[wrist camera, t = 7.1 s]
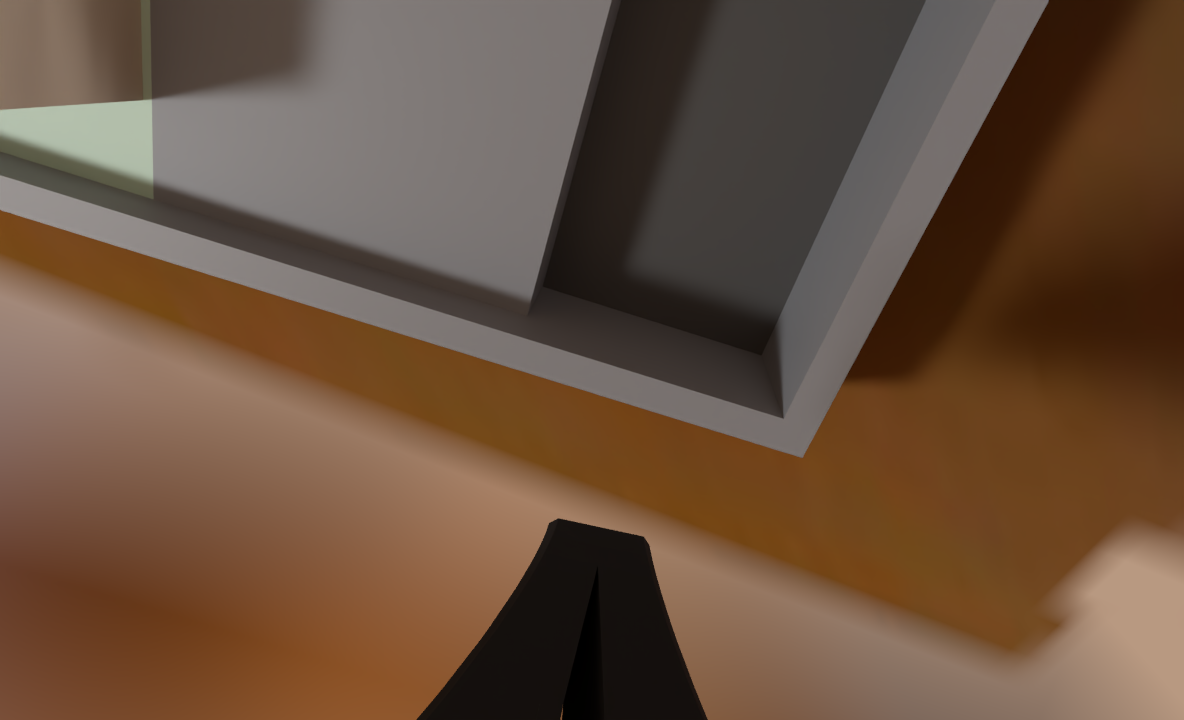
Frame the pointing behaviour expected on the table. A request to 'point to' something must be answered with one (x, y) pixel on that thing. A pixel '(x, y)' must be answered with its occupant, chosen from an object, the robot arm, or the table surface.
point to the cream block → (69, 52)
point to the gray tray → (548, 176)
